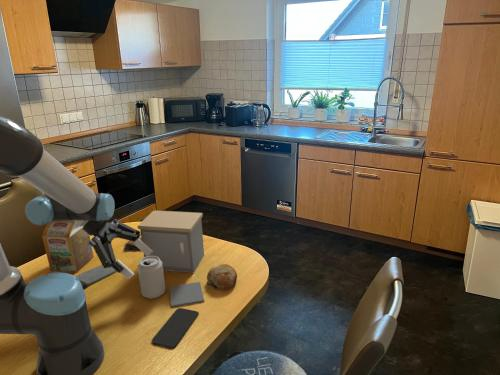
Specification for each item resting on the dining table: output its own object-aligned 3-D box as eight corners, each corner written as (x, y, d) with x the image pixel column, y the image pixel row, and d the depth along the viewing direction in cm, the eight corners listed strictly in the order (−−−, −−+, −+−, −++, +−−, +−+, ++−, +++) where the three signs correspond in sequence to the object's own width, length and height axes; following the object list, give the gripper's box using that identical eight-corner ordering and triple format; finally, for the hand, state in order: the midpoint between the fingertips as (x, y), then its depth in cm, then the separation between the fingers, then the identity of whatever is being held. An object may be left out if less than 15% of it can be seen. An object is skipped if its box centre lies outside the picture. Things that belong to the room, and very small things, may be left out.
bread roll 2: (122, 254, 145) (121, 245, 144) (125, 243, 153) (124, 235, 151) (150, 250, 146) (149, 242, 145) (152, 240, 154) (151, 232, 153)
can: (137, 292, 120) (132, 260, 116) (158, 283, 124) (154, 251, 120) (149, 303, 114) (144, 269, 110) (170, 292, 119) (166, 260, 115)
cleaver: (42, 312, 113) (40, 306, 112) (27, 300, 118) (26, 294, 118) (125, 269, 135) (124, 264, 134) (110, 261, 140) (109, 256, 140)
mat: (204, 301, 114) (204, 299, 114) (171, 307, 112) (170, 305, 112) (200, 283, 124) (200, 281, 123) (169, 288, 121) (169, 286, 121)
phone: (200, 311, 109) (174, 347, 96) (200, 314, 110) (174, 350, 96) (178, 307, 112) (149, 341, 98) (178, 309, 112) (150, 344, 99)
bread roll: (205, 293, 125) (198, 280, 119) (218, 267, 131) (212, 254, 126) (231, 300, 121) (225, 287, 115) (243, 273, 127) (238, 260, 122)
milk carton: (93, 257, 142) (84, 211, 135) (77, 272, 132) (66, 224, 125) (68, 255, 144) (58, 210, 137) (50, 270, 134) (38, 222, 127)
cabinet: (193, 275, 128) (189, 230, 122) (142, 270, 132) (136, 226, 126) (205, 254, 141) (202, 213, 135) (158, 251, 145) (153, 210, 139)
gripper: (105, 210, 129) (150, 251, 132) (59, 245, 106) (115, 294, 109) (117, 196, 126) (163, 239, 129) (72, 230, 103) (129, 281, 106)
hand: (141, 264), depth 119 cm, fingers open, 13 cm apart
